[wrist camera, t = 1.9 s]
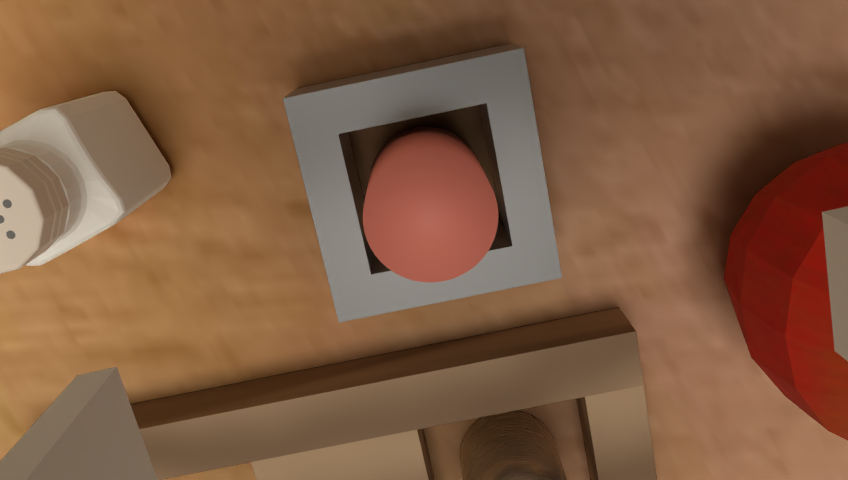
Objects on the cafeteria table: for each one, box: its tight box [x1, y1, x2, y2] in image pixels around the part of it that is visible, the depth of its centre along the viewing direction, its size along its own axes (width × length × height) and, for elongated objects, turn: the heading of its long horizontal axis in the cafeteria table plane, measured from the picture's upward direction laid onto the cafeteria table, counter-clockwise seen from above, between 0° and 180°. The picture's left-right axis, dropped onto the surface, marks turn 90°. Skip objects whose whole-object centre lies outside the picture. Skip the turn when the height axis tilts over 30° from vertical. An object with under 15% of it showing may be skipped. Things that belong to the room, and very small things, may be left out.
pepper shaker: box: [0, 91, 172, 274], centre depth 26 cm, size 4×4×10 cm
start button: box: [363, 127, 498, 282], centre depth 26 cm, size 4×4×5 cm
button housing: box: [283, 44, 562, 322], centre depth 29 cm, size 8×8×4 cm
